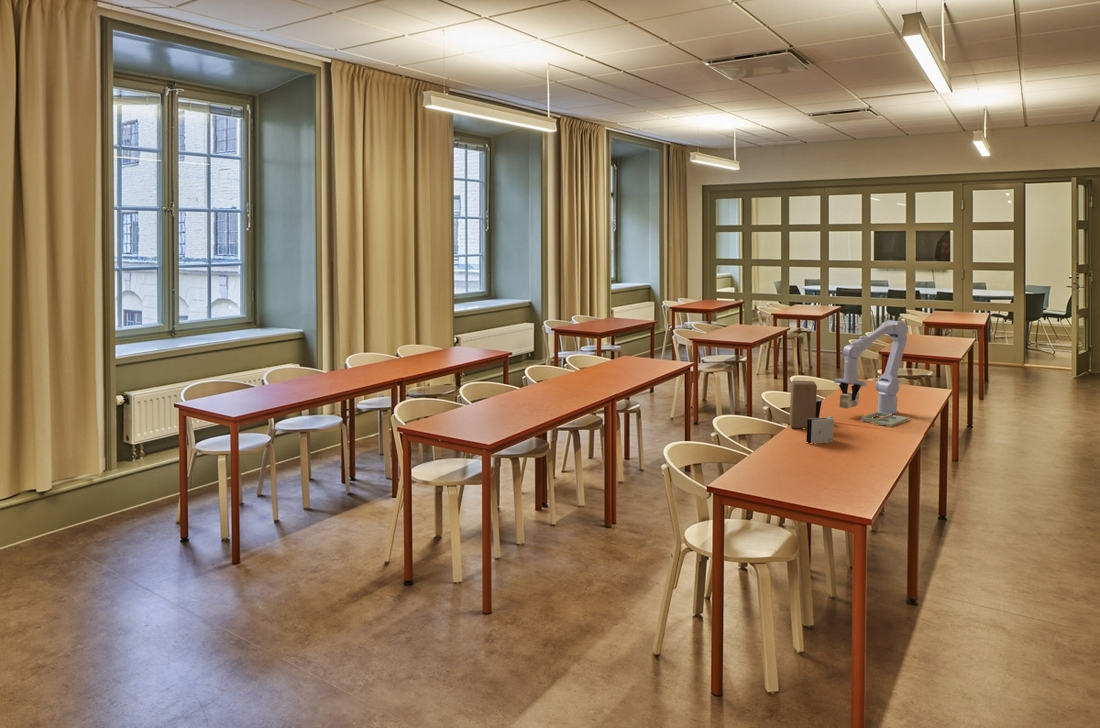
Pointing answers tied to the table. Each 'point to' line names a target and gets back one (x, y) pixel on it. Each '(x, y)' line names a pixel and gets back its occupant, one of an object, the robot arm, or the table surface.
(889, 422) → the sage cabinet frame
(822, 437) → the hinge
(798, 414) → the wooden block
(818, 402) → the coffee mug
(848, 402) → the birch door
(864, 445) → the table surface
